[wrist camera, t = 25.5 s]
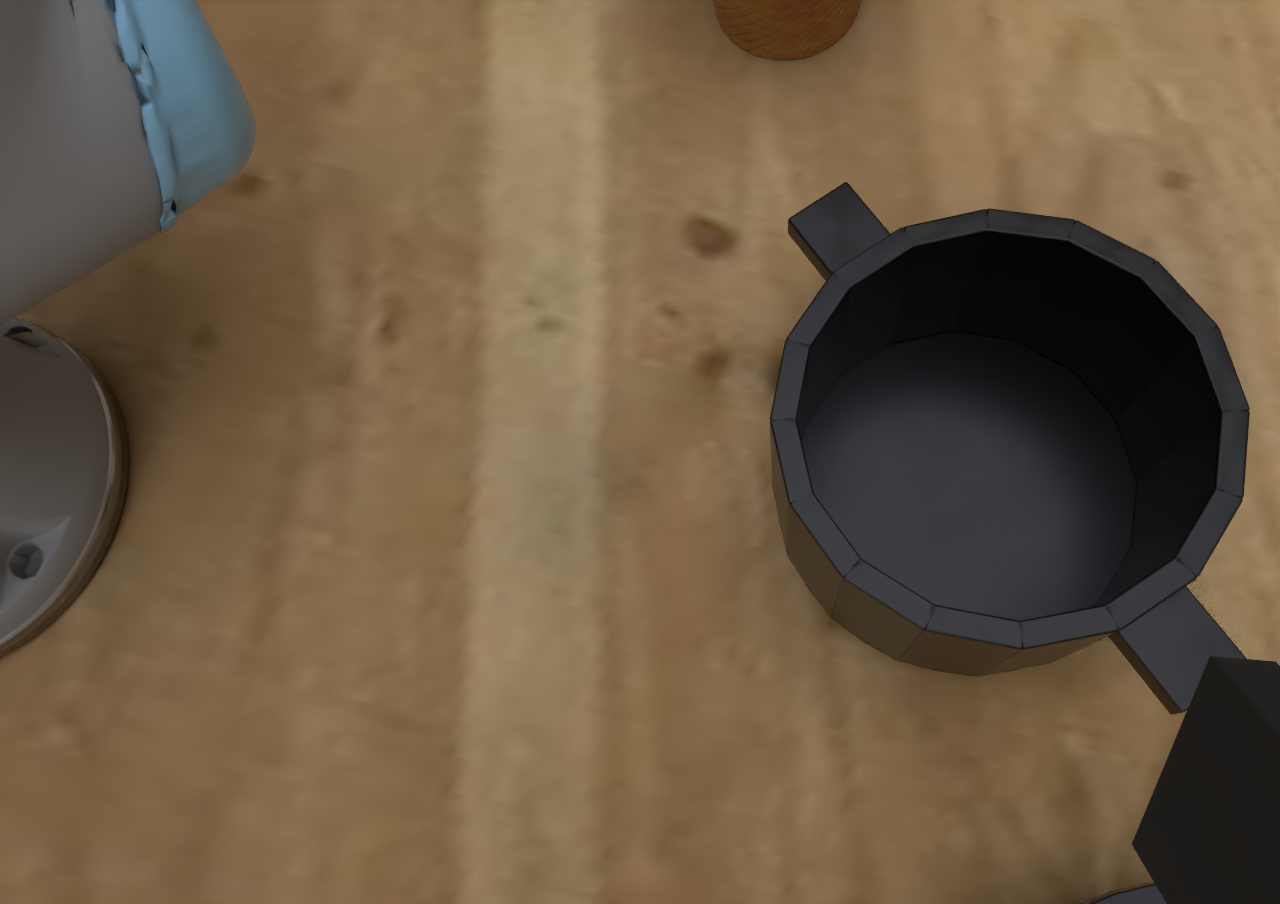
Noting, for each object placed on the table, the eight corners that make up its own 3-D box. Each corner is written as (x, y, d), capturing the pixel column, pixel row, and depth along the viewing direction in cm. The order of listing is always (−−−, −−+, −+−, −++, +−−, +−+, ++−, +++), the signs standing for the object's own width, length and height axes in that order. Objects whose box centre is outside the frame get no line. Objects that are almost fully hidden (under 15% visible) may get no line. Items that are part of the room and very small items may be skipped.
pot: (970, 819, 37) (1022, 828, 29) (668, 391, 43) (642, 300, 35) (1290, 598, 38) (1427, 548, 30) (950, 208, 44) (988, 78, 36)
